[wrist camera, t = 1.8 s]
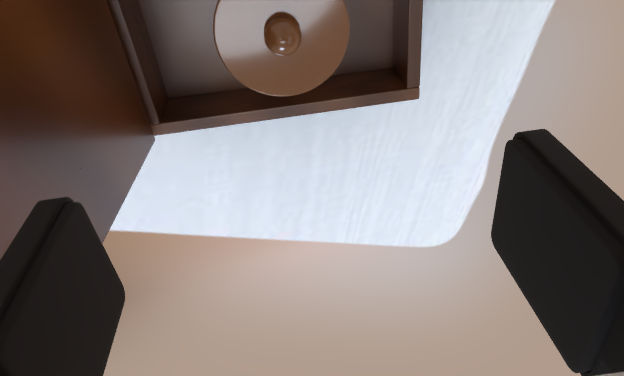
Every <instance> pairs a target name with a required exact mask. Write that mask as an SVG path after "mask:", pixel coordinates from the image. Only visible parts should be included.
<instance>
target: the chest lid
mask: <svg viewBox="0 0 624 376" xmlns="http://www.w3.org/2000/svg"><path fill="white" fill-rule="evenodd" d="M154 141H155V138H154V135H153V132H152V129H151V127H150V124H149V121H148V118H147V115H146V112H145V109H144V107H143V104H142V101H141V98H140V95H139V92H138V90H137V87H136V84H135V81H134V78H133V75H132V73H131V70H130V67H129V64H128V61H127V58H126V55H125V53H124V50H123V47H122V44H121V41H120V38H119V36H118V33H117V30H116V27H115V24H114V21H113V19H112V16H111V13H110V10H109V7H108V4H107V2H106V0H0V260H1V258H2V257H3V255H4V253H5V252H6V250H7V249H8V247H9V246H10V244H11V242H12V241H13V239H14V238H15V236H16V235H17V233H18V231H19V230H20V228H21V227H22V225H23V224H24V222H25V220H26V219H27V217H28V216H29V214H30V212H31V211H32V209H33V208H34V206H35V205H36V203H37V202H38V201H41V200H47V199H54V198H61V197H70V198H71V199H72V200H73V201H74V202H80V203H81V204H82V205H83V207H84V209H85V211H86V213H87V215H88V217H89V219H90V221H91V223H92V225H93V227H94V229H95V231H96V233H97V235H98V237H99V239H100V241H101V243H103V241H104V239H105V237H106V235H107V233H108V231H109V229H110V227H111V226H112V224H113V222H114V220H115V218H116V216H117V214H118V212H119V210H120V208H121V206H122V204H123V202H124V200H125V198H126V196H127V194H128V192H129V190H130V188H131V186H132V184H133V182H134V180H135V179H136V177H137V175H138V173H139V171H140V169H141V167H142V165H143V163H144V161H145V159H146V157H147V155H148V153H149V151H150V149H151V147H152V145H153V143H154Z"/></svg>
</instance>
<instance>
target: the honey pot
mask: <svg viewBox="0 0 624 376" xmlns="http://www.w3.org/2000/svg"><path fill="white" fill-rule="evenodd" d="M349 34H350V22H349V14H348V11H347V7H346V4H345V1H344V0H218V1H217V4H216V8H215V12H214V18H213V36H214V42H215V46H216V49H217V52H218V54H219V56H220V59H221V60H222V62H223V64H224V65H225V67H226V68H227V70H228V71H229V72H230V73H231V74H232V75H233V76H234V77H235V78H236V79H237V80H238V81H239V82H241V83H242V84H243V85H245V86H247V87H248V88H250V89H252V90H254V91H257V92H259V93H262V94H266V95H271V96H282V97H283V96H293V95H298V94H302V93H305V92H307V91H310V90H312V89H314V88H315V87H317V86H319V85H320V84H322V83H323V82H324V81H325V80H327V79H328V78H329V77H330V76H331V75H332V74H333V73H334V71H335V70H336V69H337V67H338V66H339V64H340V62H341V61H342V59H343V57H344V54H345V52H346V49H347V45H348V41H349Z"/></svg>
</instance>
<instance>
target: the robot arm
mask: <svg viewBox="0 0 624 376" xmlns="http://www.w3.org/2000/svg"><path fill="white" fill-rule="evenodd" d="M491 237H492V242H493V245H494V247H495V249H496V251H497V252H498V254H499V255H500V257H501V259H502V260H503V262H504V263H505V265H506V267H507V268H508V270H509V272H510V273H511V275H512V276H513V278H514V280H515V281H516V283H517V285H518V286H519V288H520V289H521V291H522V293H523V294H524V296H525V298H526V299H527V301H528V302H529V304H530V306H531V307H532V309H533V310H534V312H535V314H536V315H537V317H538V318H539V320H540V322H541V323H542V325H543V327H544V328H545V330H546V331H547V333H548V335H549V336H550V338H551V339H552V341H553V343H554V344H555V346H556V347H557V349H558V351H559V352H560V354H561V356H562V357H563V359H564V361H565V362H566V364H567V365H568V367H569V368H570V369H571V370H572V371H573V372H575V373H580V374H581V375H582V376H624V201H623V200H622V199H621V198H620V197H619V196H618V195H617V194H616V193H615V192H613V191H612V190H611V189H610V188H609V187H608V186H607V185H606V184H605V183H604V182H603V181H602V180H600V179H599V178H598V177H597V176H596V175H595V174H594V173H593V172H592V171H591V170H589V168H588V167H586V166H585V165H584V164H583V163H582V162H581V161H580V160H579V159H578V158H577V157H575V155H573V154H572V153H571V152H570V151H569V150H568V149H567V148H566V147H565V146H564V145H563V144H562V143H560V142H559V141H558V140H557V139H556V138H555V137H554V136H553V135H552V134H551V133H549V131H547V130H545V129H539V130H532V131H525V132H518V133H516V134H515V136H514V137H513V140H509V141H508V142H507V143H506V146H505V152H504V158H503V164H502V170H501V176H500V182H499V188H498V194H497V200H496V207H495V213H494V219H493V225H492V231H491ZM124 301H125V291H124V287H123V285H122V283H121V281H120V279H119V277H118V275H117V273H116V271H115V269H114V267H113V265H112V263H111V261H110V259H109V257H108V255H107V253H106V251H105V249H104V247H103V245H102V243H101V241H100V239H99V237H98V235H97V233H96V231H95V229H94V227H93V225H92V223H91V221H90V219H89V217H88V215H87V213H86V211H85V209H84V207H83V205H82V204H81V203H80V202H74V201H73V200H72V199H71V198H70V197H61V198H54V199H47V200H41V201H38V202H37V203H36V205H35V206H34V208H33V209H32V211H31V212H30V214H29V216H28V217H27V219H26V220H25V222H24V224H23V225H22V227H21V228H20V230H19V231H18V233H17V235H16V236H15V238H14V239H13V241H12V242H11V244H10V246H9V247H8V249H7V250H6V252H5V253H4V255H3V257H2V258H1V260H0V376H103V374H104V370H105V367H106V363H107V359H108V357H109V353H110V349H111V346H112V343H113V340H114V336H115V333H116V329H117V326H118V323H119V319H120V316H121V312H122V309H123V306H124Z"/></svg>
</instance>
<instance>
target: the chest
mask: <svg viewBox="0 0 624 376" xmlns="http://www.w3.org/2000/svg"><path fill="white" fill-rule="evenodd" d="M217 1H218V0H106V2H107V4H108V7H109V10H110V13H111V16H112V19H113V21H114V24H115V27H116V30H117V33H118V36H119V38H120V41H121V44H122V47H123V50H124V53H125V55H126V58H127V61H128V64H129V67H130V70H131V73H132V75H133V78H134V81H135V84H136V87H137V90H138V92H139V95H140V98H141V101H142V104H143V107H144V109H145V112H146V115H147V118H148V121H149V124H150V127H151V129H152V132H153V135H154V136H156V135H163V134H170V133H178V132H185V131H192V130H199V129H206V128H213V127H221V126H228V125H235V124H242V123H249V122H256V121H263V120H271V119H278V118H285V117H292V116H299V115H306V114H313V113H321V112H328V111H335V110H342V109H349V108H356V107H364V106H371V105H378V104H385V103H392V102H399V101H406V100H414V99H419V86H420V63H421V36H422V9H423V0H344V1H345V4H346V7H347V11H348V14H349V22H350V34H349V41H348V45H347V49H346V52H345V54H344V57H343V59H342V61H341V62H340V64H339V66H338V67H337V69H336V70H335V71H334V73H333V74H332V75H331V76H330V77H329V78H328V79H327V80H325V81H324V82H323V83H322V84H320V85H319V86H317V87H315V88H314V89H312V90H310V91H307V92H305V93H302V94H298V95H293V96H283V97H282V96H271V95H266V94H262V93H259V92H257V91H254V90H252V89H250V88H248V87H247V86H245V85H243V84H242V83H241V82H239V81H238V80H237V79H236V78H235V77H234V76H233V75H232V74H231V73H230V72H229V71H228V70H227V68H226V67H225V65H224V64H223V62H222V60H221V59H220V56H219V54H218V52H217V49H216V46H215V42H214V36H213V18H214V12H215V8H216V4H217Z"/></svg>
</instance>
